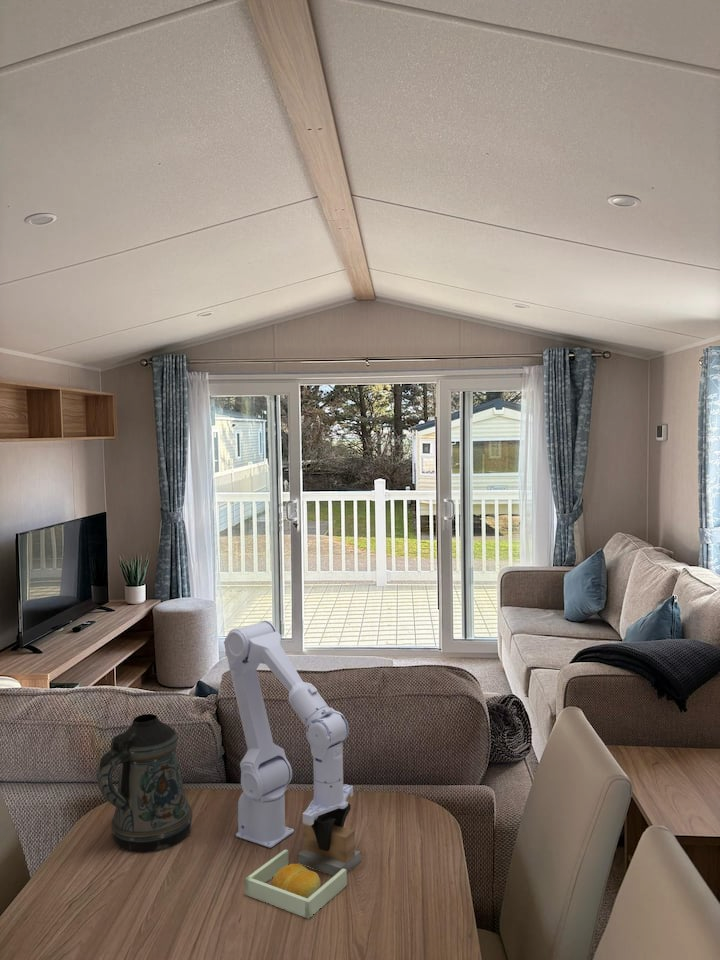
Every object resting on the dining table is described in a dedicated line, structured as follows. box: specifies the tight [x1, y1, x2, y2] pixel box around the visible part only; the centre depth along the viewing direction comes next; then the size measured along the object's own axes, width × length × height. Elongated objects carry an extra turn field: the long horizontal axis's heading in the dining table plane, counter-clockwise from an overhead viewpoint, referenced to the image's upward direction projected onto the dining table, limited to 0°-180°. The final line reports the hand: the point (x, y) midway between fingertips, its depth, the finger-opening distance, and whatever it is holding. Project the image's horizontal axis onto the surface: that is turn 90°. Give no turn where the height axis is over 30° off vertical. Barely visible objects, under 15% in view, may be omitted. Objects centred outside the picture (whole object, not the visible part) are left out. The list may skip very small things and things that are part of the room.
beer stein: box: [96, 713, 193, 854], centre depth 167 cm, size 16×19×25 cm
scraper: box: [297, 823, 362, 877], centre depth 157 cm, size 10×7×7 cm
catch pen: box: [244, 849, 348, 920], centre depth 148 cm, size 14×12×3 cm
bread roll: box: [271, 863, 322, 899], centre depth 148 cm, size 8×9×4 cm
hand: (329, 845), depth 157 cm, fingers closed on scraper, 3 cm apart
